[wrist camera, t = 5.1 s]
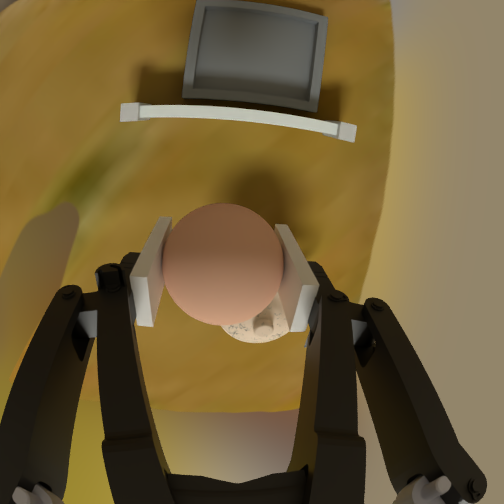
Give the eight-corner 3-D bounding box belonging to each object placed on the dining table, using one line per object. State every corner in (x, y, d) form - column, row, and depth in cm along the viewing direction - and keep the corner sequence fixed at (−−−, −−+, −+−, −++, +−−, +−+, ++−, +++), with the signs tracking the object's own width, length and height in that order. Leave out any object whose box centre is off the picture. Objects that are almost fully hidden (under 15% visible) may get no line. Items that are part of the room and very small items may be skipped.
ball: (173, 277, 18) (157, 347, 13) (172, 186, 15) (144, 229, 10) (265, 282, 19) (282, 351, 14) (279, 193, 16) (310, 239, 11)
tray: (183, 98, 25) (181, 97, 24) (198, 3, 19) (196, -2, 18) (312, 112, 27) (316, 112, 26) (323, 21, 21) (328, 17, 20)
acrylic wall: (134, 120, 25) (119, 121, 21) (135, 104, 24) (121, 103, 20) (336, 137, 28) (354, 142, 24) (339, 123, 28) (356, 125, 24)
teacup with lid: (208, 287, 36) (206, 353, 26) (228, 227, 33) (232, 283, 22) (289, 305, 39) (309, 367, 29) (316, 252, 36) (350, 309, 25)
